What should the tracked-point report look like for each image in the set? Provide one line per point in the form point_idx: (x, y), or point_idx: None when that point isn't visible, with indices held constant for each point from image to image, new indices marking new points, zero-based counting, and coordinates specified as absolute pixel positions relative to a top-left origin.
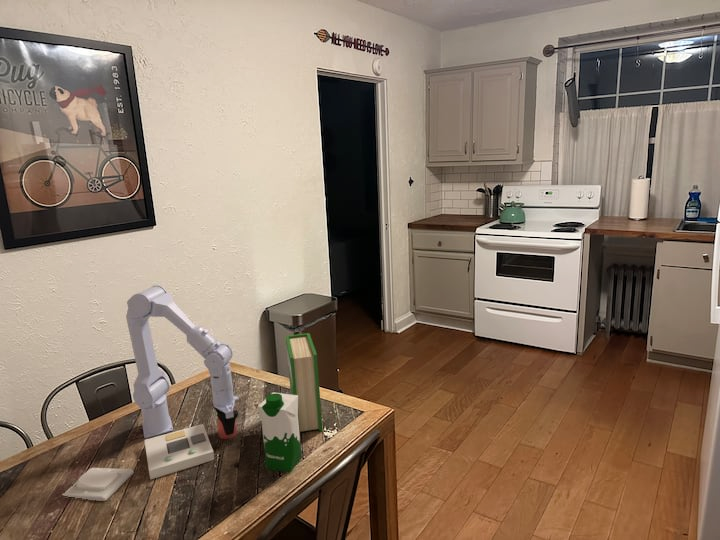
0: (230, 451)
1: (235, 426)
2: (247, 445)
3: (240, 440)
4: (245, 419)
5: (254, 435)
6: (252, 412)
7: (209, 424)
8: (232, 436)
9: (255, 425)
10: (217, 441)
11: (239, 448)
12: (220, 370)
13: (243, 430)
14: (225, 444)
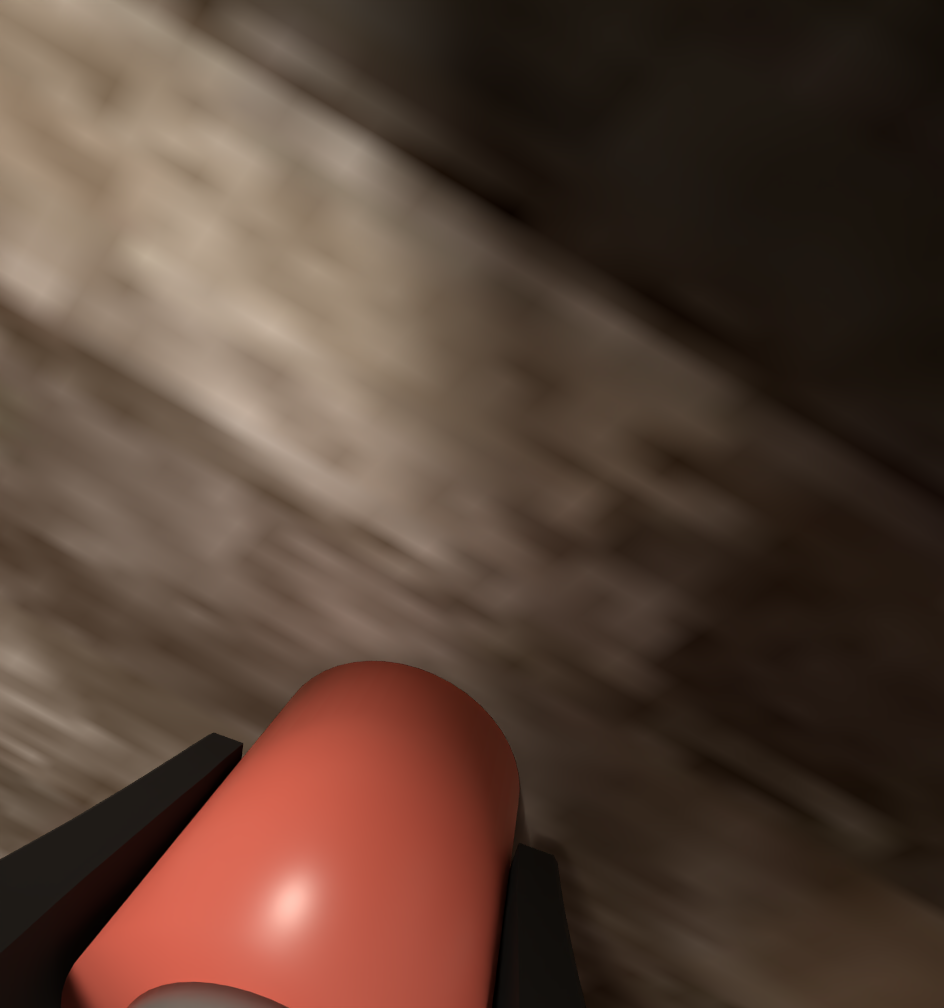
0: (831, 984)
1: (461, 823)
2: (937, 793)
3: (701, 773)
4: (187, 398)
5: (773, 562)
6: (35, 174)
7: (52, 777)
8: (518, 791)
9: (482, 370)
10: None
11: (887, 894)
12: None
13: (475, 597)
14: (614, 923)
